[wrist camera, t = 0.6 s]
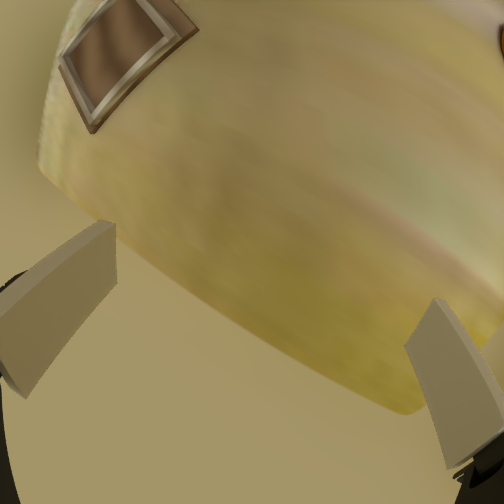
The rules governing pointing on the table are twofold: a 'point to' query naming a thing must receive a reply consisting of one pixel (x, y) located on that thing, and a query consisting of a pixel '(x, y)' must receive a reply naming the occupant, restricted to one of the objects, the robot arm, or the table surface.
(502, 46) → the decorated donut
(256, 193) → the table surface
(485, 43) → the table surface
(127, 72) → the brown flat tray
